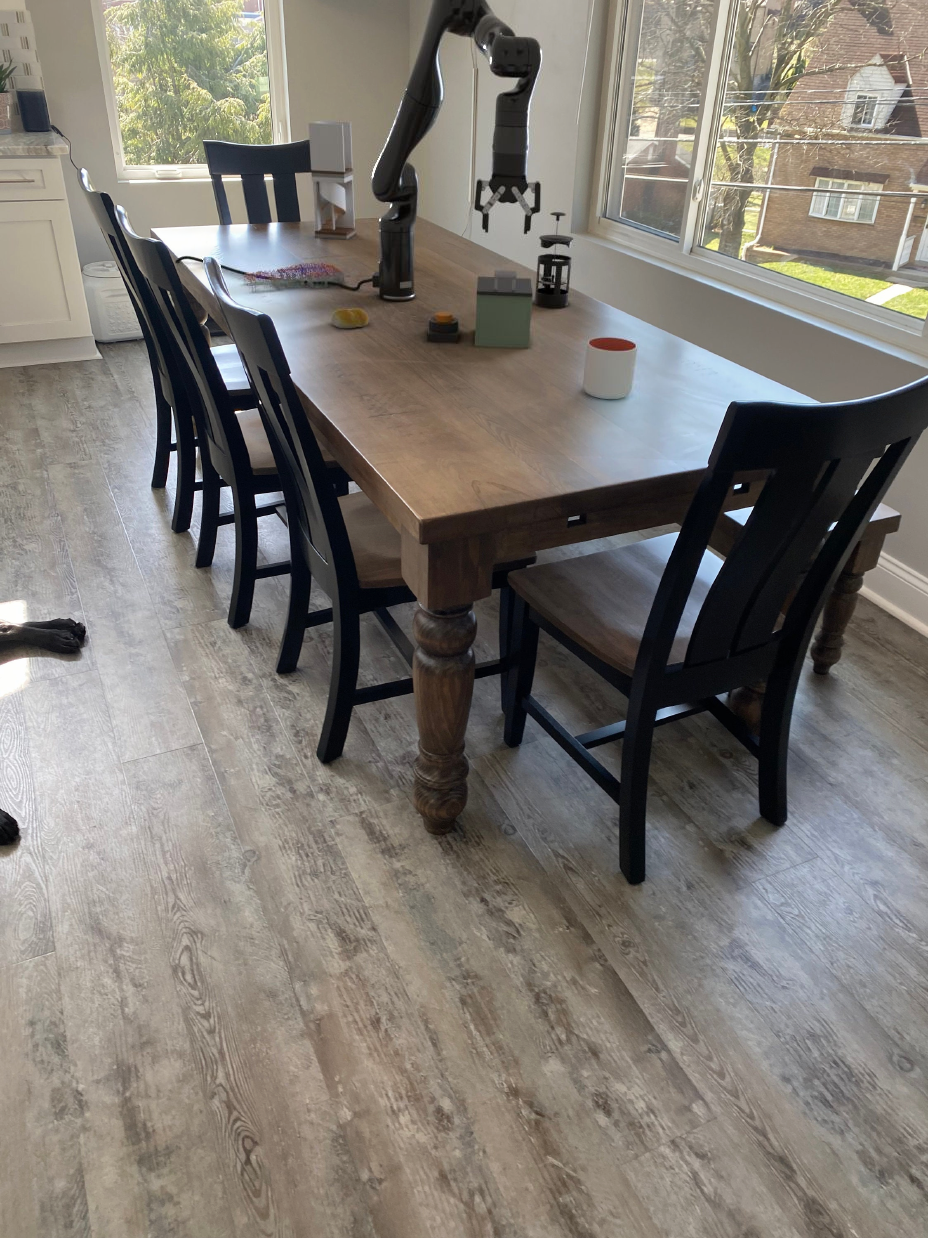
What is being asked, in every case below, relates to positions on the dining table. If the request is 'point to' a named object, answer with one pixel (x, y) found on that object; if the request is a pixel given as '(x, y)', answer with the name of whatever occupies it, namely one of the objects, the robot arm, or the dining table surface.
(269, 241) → the dining table surface
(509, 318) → the sage green box
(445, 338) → the block
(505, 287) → the lid
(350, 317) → the bread roll
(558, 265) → the french press
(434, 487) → the dining table surface
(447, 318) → the button
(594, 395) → the cup
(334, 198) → the white tower
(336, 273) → the multicoloured piece
